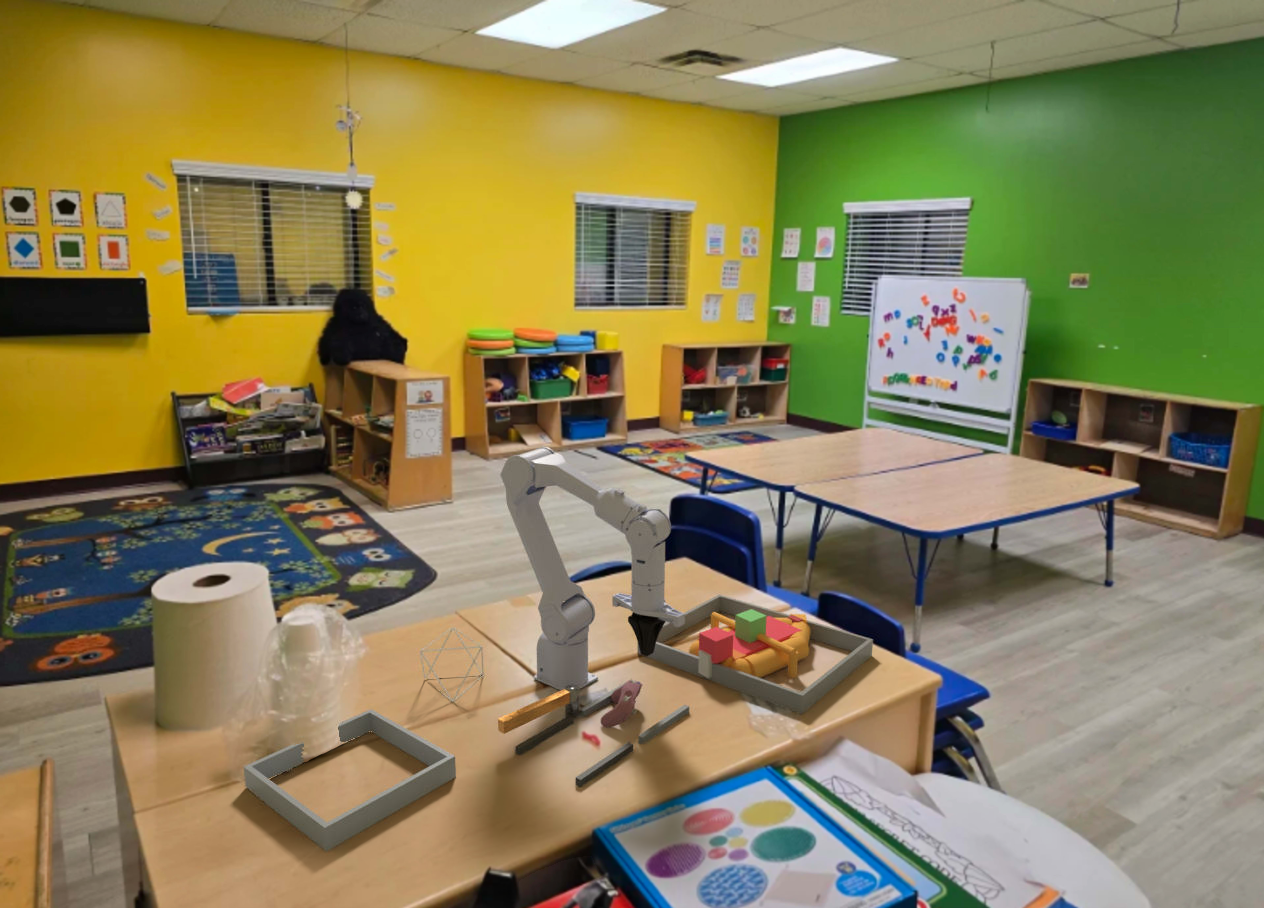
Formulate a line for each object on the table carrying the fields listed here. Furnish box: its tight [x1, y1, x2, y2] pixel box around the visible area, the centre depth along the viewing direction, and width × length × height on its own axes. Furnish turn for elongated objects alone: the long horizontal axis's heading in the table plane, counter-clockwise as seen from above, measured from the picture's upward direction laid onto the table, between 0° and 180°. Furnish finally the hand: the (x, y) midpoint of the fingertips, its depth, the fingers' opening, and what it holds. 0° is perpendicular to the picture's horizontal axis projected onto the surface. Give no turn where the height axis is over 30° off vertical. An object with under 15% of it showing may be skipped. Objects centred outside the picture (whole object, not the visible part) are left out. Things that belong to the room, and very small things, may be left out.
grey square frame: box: [243, 708, 457, 852], centre depth 125 cm, size 22×22×4 cm
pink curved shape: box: [600, 678, 643, 728], centre depth 145 cm, size 10×5×7 cm, turn 169°
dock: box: [514, 681, 690, 788], centre depth 140 cm, size 14×28×1 cm, turn 141°
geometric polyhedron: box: [419, 626, 485, 703], centre depth 154 cm, size 12×11×9 cm
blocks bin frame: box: [637, 594, 874, 715], centre depth 168 cm, size 37×30×4 cm
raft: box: [688, 609, 811, 679], centre depth 167 cm, size 23×30×9 cm
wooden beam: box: [497, 684, 580, 735], centre depth 139 cm, size 16×2×5 cm, turn 136°
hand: (647, 653), depth 147 cm, fingers closed
